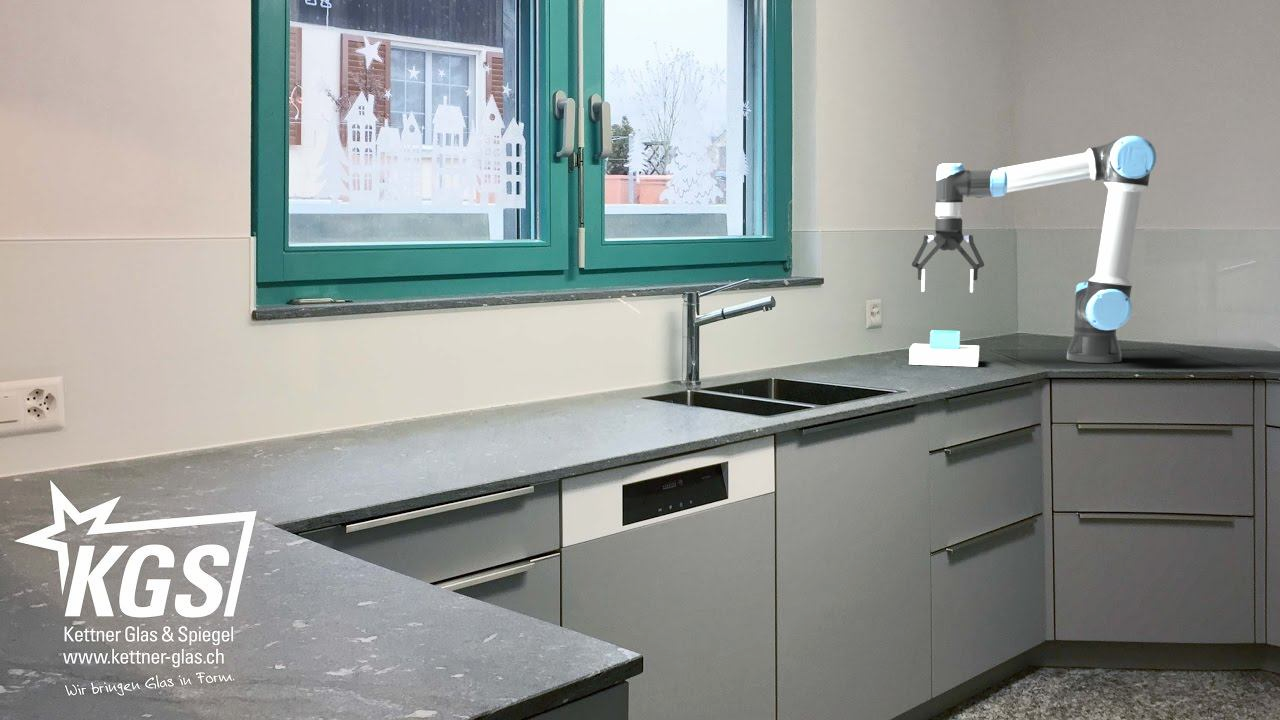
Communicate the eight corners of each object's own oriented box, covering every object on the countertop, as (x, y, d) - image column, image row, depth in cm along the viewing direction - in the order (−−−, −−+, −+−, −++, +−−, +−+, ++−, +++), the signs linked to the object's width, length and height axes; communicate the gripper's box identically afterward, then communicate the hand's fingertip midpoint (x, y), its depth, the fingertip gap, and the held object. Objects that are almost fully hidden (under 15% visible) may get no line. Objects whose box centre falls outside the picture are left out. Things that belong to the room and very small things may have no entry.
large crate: (978, 360, 356) (979, 345, 355) (977, 366, 343) (977, 350, 342) (912, 358, 361) (913, 343, 361) (909, 364, 348) (909, 348, 348)
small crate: (959, 358, 355) (960, 330, 354) (958, 361, 347) (958, 333, 346) (931, 357, 357) (932, 330, 356) (929, 360, 349) (930, 332, 348)
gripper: (994, 217, 347) (992, 291, 350) (905, 217, 354) (904, 290, 357) (994, 217, 340) (991, 293, 342) (903, 218, 347) (902, 291, 350)
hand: (947, 291), depth 350 cm, fingers open, 13 cm apart
